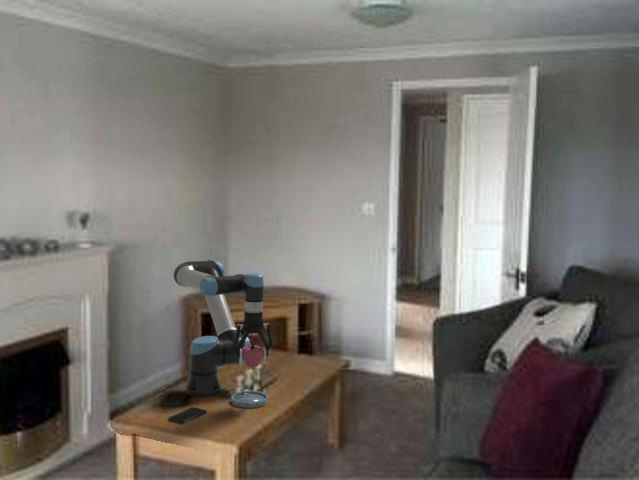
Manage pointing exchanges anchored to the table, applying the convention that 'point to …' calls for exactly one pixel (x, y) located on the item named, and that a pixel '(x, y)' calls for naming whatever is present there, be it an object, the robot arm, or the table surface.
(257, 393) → the dish
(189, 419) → the phone
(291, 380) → the table surface
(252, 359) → the apple
